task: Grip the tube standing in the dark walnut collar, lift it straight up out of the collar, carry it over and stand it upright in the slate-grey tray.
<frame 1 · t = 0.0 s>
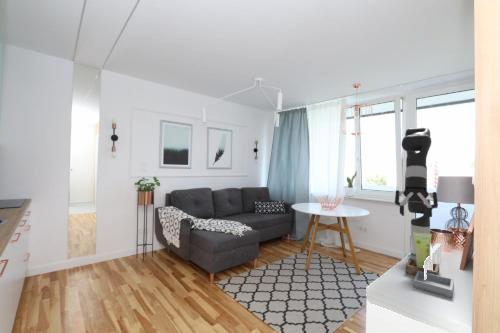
hand: (415, 216, 95), 31 cm above the table, tool tilted 20°, fingers open, 8 cm apart
tube: (422, 273, 115), resting in collar
collar: (422, 272, 115), on the table
tray: (433, 286, 102), on the table
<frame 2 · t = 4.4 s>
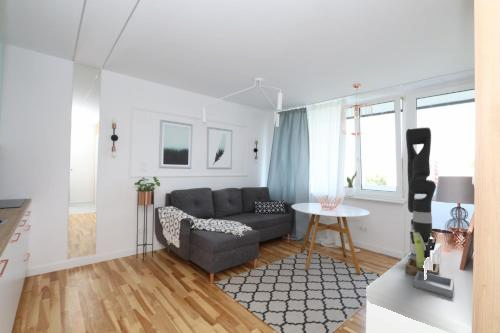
hand: (422, 255, 115), 8 cm above the table, tool pointing down, fingers closed on tube, 4 cm apart
tube: (422, 273, 115), resting in collar, touching gripper
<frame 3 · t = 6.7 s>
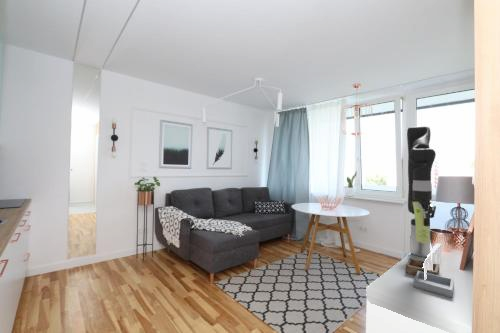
hand: (422, 224, 115), 23 cm above the table, tool pointing down, fingers closed on tube, 4 cm apart
tube: (422, 242, 115), point 15 cm above the table, touching gripper
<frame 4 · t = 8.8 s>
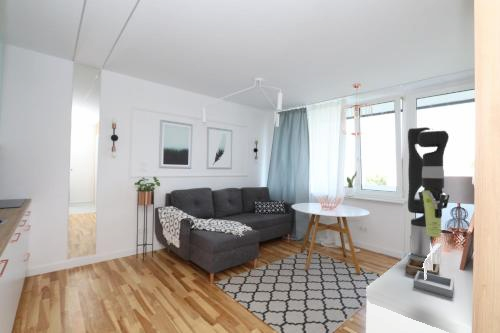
hand: (433, 216, 102), 30 cm above the table, tool pointing down, fingers closed on tube, 4 cm apart
tube: (433, 236, 102), point 22 cm above the table, touching gripper
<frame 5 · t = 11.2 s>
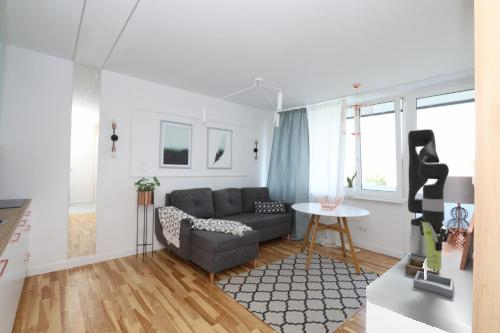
hand: (433, 248, 102), 16 cm above the table, tool pointing down, fingers closed on tube, 4 cm apart
tube: (433, 268, 102), point 8 cm above the table, touching gripper
when the fingers open (10 cm above the table, at t = 13.4 s): tube stays where it is, resting on tray.
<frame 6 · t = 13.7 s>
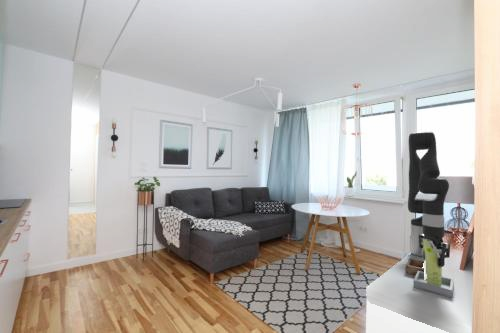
hand: (433, 262, 102), 10 cm above the table, tool pointing down, fingers open, 6 cm apart
tube: (433, 285, 102), resting on tray
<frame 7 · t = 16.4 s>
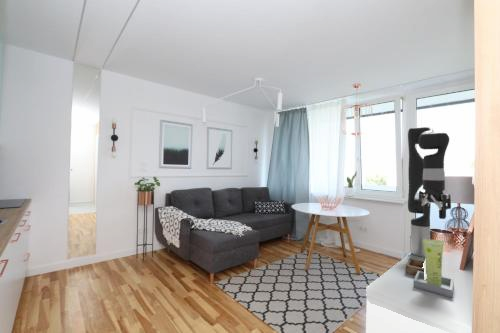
hand: (433, 216, 102), 30 cm above the table, tool pointing down, fingers open, 8 cm apart
nothing on the table moved.
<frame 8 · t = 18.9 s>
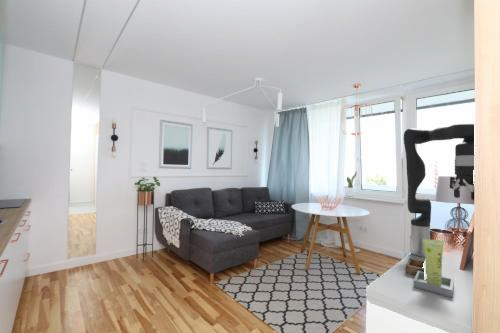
hand: (465, 198, 114), 36 cm above the table, tool pointing down, fingers open, 8 cm apart
nothing on the table moved.
at the end: tube inside the target area on the tray (0.2 cm from its centre), point 0.4 cm above the tray's base; tube tilted 0°; the gripper is holding nothing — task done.
